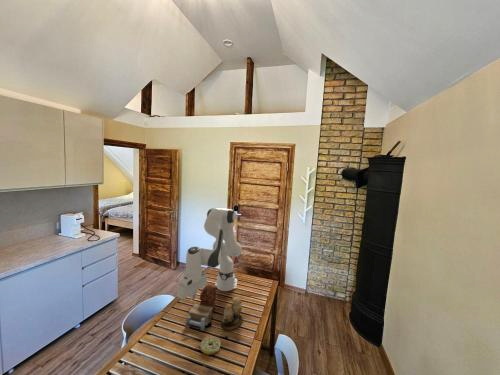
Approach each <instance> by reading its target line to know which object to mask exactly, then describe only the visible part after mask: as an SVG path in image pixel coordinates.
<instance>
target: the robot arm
mask: <svg viewBox="0 0 500 375" xmlns="http://www.w3.org/2000/svg"><path fill="white" fill-rule="evenodd" d="M236 215H237V214H236V211H235V210H234V209H231V208H223V207H221V208H220V207H219V208H217V207H215V208H214V207H213V208H210V209H208V211H207V213H206V218H205V222H204V225H203V228H204V231H205V233H207V234H208V235H210V236H211V237H213V238H215V241H214V242H213V243H212V249H209V248H201V247H199V246H191V247H190V248H188V249H187V251H186V256H185V267H186V268H185V273H183V275H182V276H181V277H179V279H178V280H177V284H178V285H177V290H176V292H177V293H176V296H177V298H178V299H179V300H184V299H186V298H188V297H189V299H190V300H191V301H193V300H194V299H196V298H197V293H198V291H199V290H201V289H203V288H204V287H205V286H207V285H208V276H207V270H202V266H206V267H208V268H209V267H210V268H213V269H215V268H217V267H218V266H219V269H218V275H217V276H216V282H215V283H214V287H215V288H217V290H219V291H221V292H229V291H232V290H236V289H237V286H238V279H237V278H236V274H235V273H234V270H235V268H234V261H233V259H232V258H231V257H239V256H240V255H241V254H242V252H243V247H242V245H241V244H240V243H239V242H238V241H237V239H236V237H235V234H234V222H235V221H236V218H237V217H236Z"/></svg>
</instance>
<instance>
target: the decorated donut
mask: <svg viewBox="0 0 500 375" xmlns="http://www.w3.org/2000/svg"><path fill="white" fill-rule="evenodd" d="M220 347H221V340H220V339H219V338H218V337H215V336H208V337H206V338H203V339H202V341H201V342H200V351H201V352H202V353H203V354H204V355H208V356H209V355H211V356H212V355H214V354H216V353H218V352H219V350H220Z"/></svg>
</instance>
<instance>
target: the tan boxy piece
mask: <svg viewBox="0 0 500 375" xmlns="http://www.w3.org/2000/svg"><path fill="white" fill-rule="evenodd" d="M212 309H213V307H210V306H204V305H200V303H199V304H197V303H194V304H193V306H192V307H191V308H190V310H189V311H188V314H189V316H190V317H191V320H194V321H197V322H201V318H205V326H208V325H209V323H210V322H211V319H212V317H213V316H212V315H213V311H212ZM213 310H214V309H213ZM191 326H193V325H192V324H186V323H185V325H184V327H185V328H186V329H190V328H191Z"/></svg>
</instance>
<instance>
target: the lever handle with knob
mask: <svg viewBox="0 0 500 375" xmlns="http://www.w3.org/2000/svg"><path fill="white" fill-rule="evenodd" d="M185 320H186V321H185V324H192V325H191V326H196V327H200V332H204V331H205V328H206V327H205V318H201V322H197V321H194V320H191V317H190V315H187V316H186V319H185Z"/></svg>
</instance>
